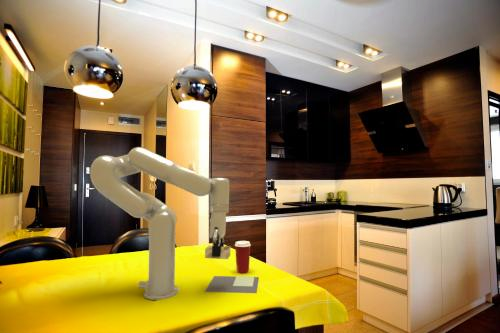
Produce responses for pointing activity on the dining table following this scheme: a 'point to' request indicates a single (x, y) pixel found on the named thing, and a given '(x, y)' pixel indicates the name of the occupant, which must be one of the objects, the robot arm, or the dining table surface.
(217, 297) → the dining table surface
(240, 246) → the paper cup
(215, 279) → the mat
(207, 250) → the card box
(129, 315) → the dining table surface
